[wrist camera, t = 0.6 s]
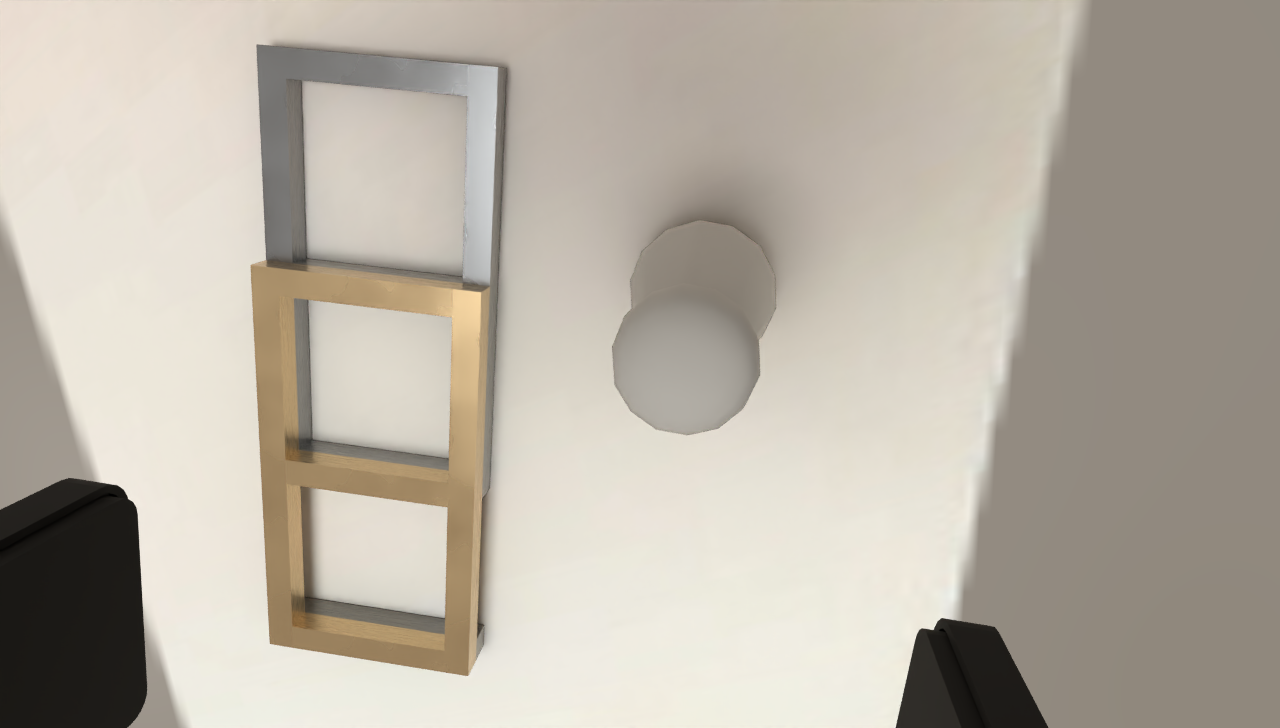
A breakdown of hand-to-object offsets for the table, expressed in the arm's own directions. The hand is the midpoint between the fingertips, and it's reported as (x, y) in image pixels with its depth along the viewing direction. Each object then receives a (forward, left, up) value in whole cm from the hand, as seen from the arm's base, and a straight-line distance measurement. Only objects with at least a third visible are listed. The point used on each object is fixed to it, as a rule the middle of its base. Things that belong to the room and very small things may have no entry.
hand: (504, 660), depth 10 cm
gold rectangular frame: (+11, -13, -27) cm, 32 cm away
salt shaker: (+1, +1, -27) cm, 27 cm away
